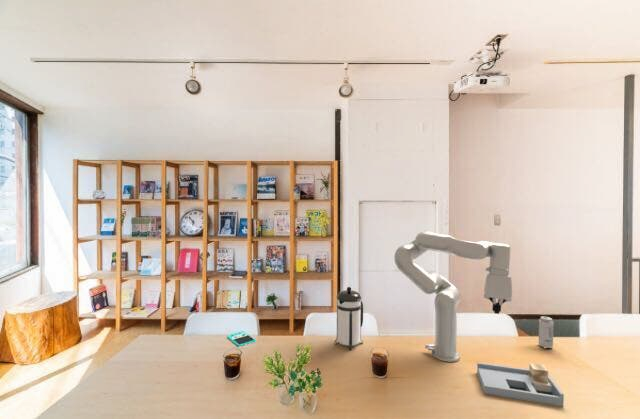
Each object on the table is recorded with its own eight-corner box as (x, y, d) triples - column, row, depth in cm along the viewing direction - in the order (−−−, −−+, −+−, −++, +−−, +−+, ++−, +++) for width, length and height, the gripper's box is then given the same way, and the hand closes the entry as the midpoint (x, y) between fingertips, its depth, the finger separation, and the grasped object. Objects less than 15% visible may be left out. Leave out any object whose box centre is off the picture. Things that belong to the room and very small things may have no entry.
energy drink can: (548, 350, 160) (548, 320, 160) (535, 345, 166) (536, 316, 166) (555, 348, 163) (556, 319, 162) (543, 343, 168) (543, 315, 168)
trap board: (484, 393, 124) (484, 382, 124) (477, 372, 139) (477, 362, 139) (563, 406, 116) (563, 394, 116) (546, 382, 132) (546, 372, 132)
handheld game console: (243, 332, 181) (243, 330, 181) (256, 342, 169) (256, 339, 169) (226, 337, 175) (226, 335, 175) (239, 347, 163) (239, 345, 163)
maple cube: (533, 381, 127) (533, 369, 127) (529, 374, 132) (529, 363, 132) (547, 383, 126) (548, 371, 126) (543, 377, 131) (543, 364, 130)
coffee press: (366, 351, 159) (367, 291, 158) (334, 350, 159) (335, 290, 158) (362, 336, 176) (363, 282, 175) (333, 336, 176) (334, 282, 176)
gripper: (481, 271, 139) (478, 313, 140) (520, 275, 134) (517, 318, 135) (478, 268, 146) (476, 307, 147) (516, 271, 141) (513, 312, 142)
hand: (496, 312), depth 141 cm, fingers closed
